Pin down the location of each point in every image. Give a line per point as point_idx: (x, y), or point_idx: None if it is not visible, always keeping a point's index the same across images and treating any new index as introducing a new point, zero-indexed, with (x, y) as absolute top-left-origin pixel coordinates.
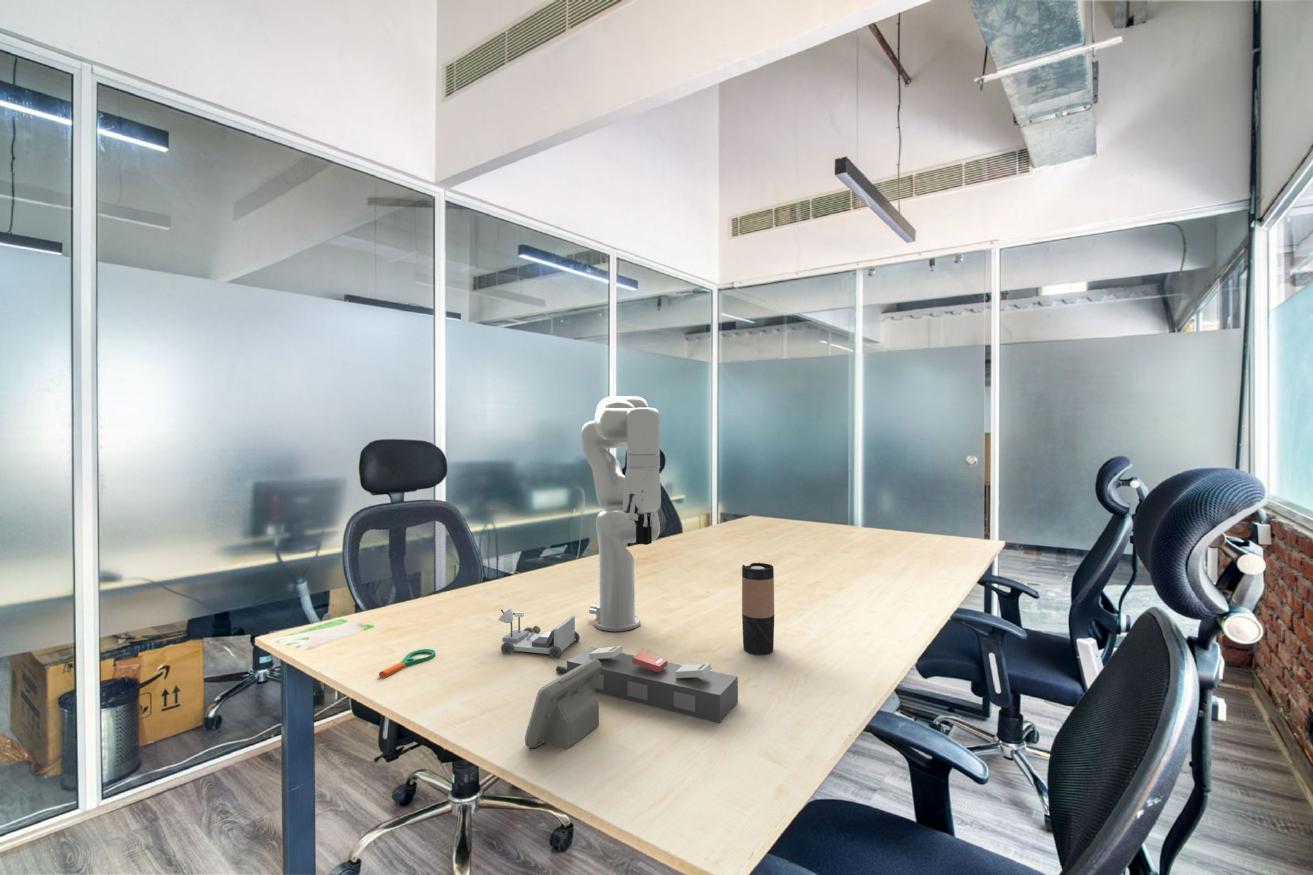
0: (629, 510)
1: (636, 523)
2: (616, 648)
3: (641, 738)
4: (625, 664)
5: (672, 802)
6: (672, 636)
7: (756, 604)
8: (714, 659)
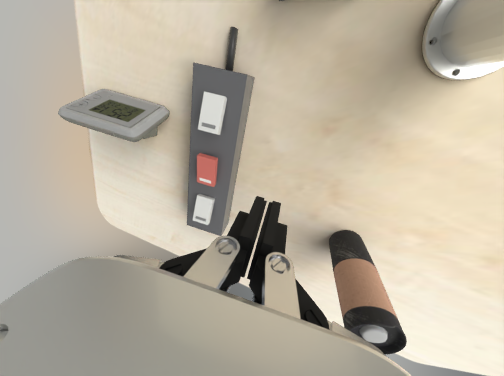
0: (168, 284)
1: (199, 254)
2: (209, 130)
3: (158, 169)
4: (210, 141)
5: (120, 196)
6: (391, 150)
7: (336, 283)
8: (310, 205)
